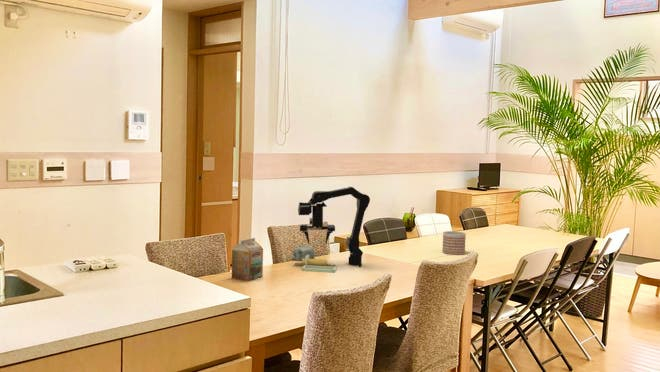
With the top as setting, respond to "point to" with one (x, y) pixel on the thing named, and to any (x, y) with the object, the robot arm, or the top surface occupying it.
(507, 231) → the top surface
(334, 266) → the holder board
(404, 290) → the top surface
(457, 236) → the planter
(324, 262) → the yellow cylinder
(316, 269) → the tray
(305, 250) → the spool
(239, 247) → the milk carton
